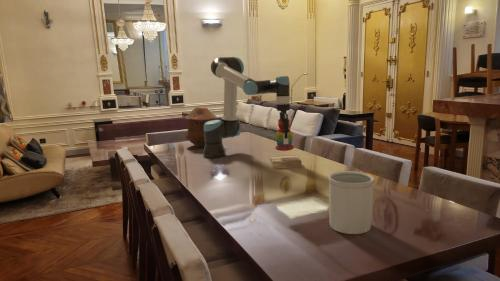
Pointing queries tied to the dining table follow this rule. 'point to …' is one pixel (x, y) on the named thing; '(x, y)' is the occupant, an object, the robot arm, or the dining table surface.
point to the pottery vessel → (198, 125)
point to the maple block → (285, 161)
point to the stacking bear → (279, 138)
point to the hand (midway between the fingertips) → (284, 142)
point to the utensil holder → (350, 201)
